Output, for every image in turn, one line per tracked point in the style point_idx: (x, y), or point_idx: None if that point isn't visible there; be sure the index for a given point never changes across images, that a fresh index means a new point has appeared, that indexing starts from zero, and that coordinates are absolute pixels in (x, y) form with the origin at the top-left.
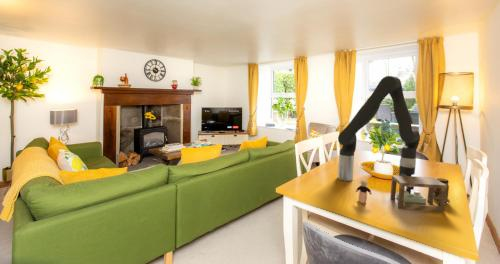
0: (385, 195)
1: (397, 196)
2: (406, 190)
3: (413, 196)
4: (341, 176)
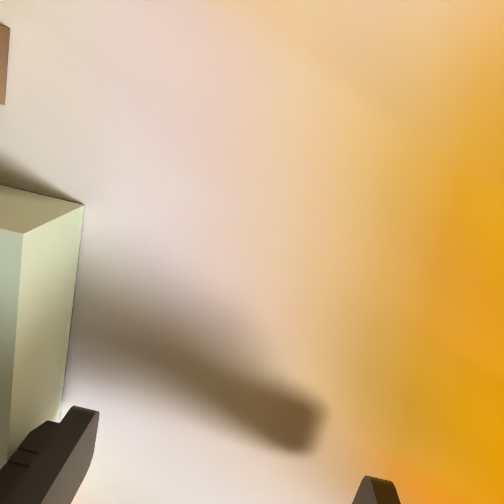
0: (222, 49)
1: (11, 204)
2: (12, 487)
3: None
4: None
